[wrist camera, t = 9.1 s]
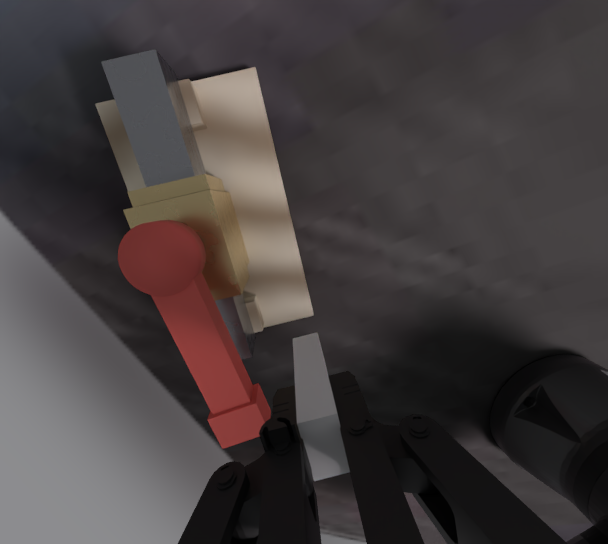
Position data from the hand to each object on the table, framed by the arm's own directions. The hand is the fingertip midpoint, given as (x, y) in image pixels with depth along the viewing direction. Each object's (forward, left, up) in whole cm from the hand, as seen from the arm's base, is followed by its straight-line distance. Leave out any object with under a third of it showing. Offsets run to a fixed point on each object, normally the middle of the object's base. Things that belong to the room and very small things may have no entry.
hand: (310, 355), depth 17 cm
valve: (+8, +7, -11) cm, 16 cm away
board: (+8, +6, -12) cm, 16 cm away
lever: (+2, +6, -2) cm, 7 cm away
